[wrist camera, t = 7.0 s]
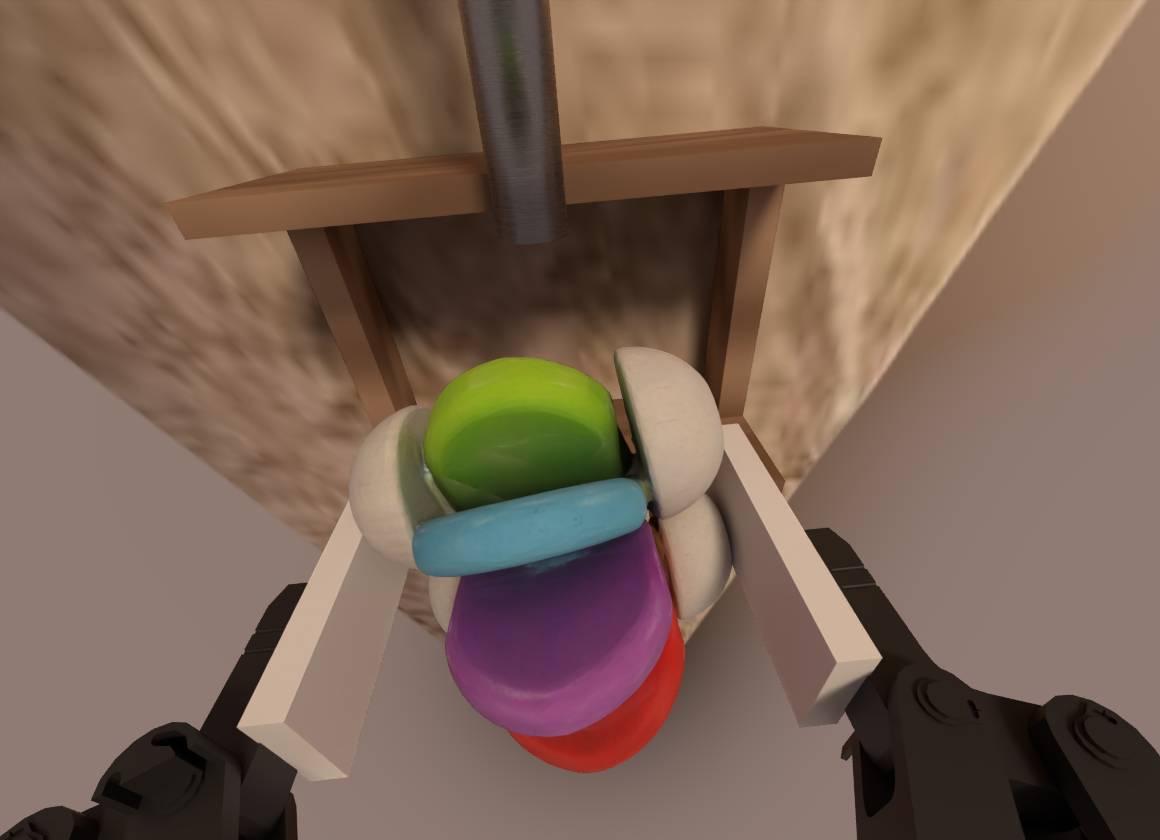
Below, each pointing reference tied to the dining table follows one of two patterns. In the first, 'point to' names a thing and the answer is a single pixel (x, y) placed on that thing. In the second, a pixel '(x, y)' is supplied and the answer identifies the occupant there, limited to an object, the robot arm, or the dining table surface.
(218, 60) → the dining table surface
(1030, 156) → the dining table surface
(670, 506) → the rainbow disc toy
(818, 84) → the dining table surface
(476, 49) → the rod
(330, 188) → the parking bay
